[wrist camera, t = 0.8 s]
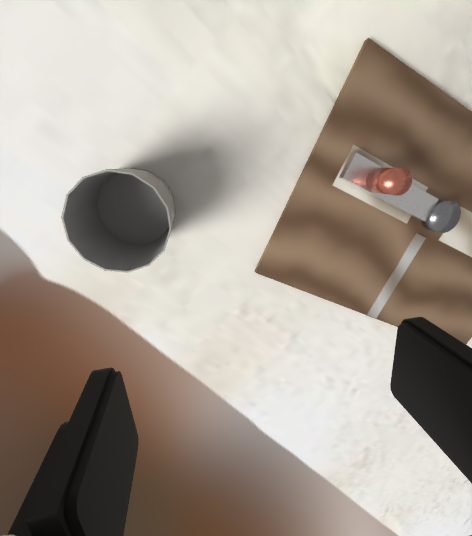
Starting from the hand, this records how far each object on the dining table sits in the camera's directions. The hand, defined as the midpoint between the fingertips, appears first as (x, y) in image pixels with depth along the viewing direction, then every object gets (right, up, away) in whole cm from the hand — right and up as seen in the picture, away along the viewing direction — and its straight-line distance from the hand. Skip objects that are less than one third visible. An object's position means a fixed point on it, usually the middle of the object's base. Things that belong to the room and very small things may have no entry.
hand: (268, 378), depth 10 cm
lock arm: (+19, +13, +27) cm, 36 cm away
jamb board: (+24, +9, +30) cm, 40 cm away
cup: (-12, +11, +24) cm, 29 cm away
